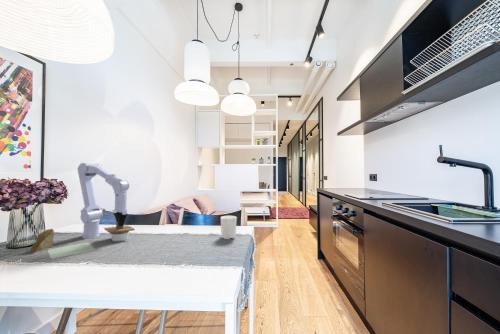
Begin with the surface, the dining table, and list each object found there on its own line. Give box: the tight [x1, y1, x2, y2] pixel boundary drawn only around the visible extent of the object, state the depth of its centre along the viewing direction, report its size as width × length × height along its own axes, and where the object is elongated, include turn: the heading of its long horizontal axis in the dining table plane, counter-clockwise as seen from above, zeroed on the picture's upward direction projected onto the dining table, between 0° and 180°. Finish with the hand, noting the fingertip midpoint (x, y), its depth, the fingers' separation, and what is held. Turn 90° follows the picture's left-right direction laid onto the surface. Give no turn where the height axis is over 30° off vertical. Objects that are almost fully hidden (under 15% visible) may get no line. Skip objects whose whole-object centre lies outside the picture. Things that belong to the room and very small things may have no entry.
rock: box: [29, 228, 55, 254], centre depth 106 cm, size 11×9×10 cm
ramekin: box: [110, 231, 130, 242], centre depth 123 cm, size 9×9×4 cm
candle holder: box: [220, 215, 238, 240], centre depth 129 cm, size 10×10×12 cm
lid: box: [104, 221, 135, 235], centre depth 123 cm, size 12×12×5 cm
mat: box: [47, 241, 95, 260], centre depth 106 cm, size 16×16×1 cm
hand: (120, 225), depth 123 cm, fingers closed on lid, 3 cm apart
